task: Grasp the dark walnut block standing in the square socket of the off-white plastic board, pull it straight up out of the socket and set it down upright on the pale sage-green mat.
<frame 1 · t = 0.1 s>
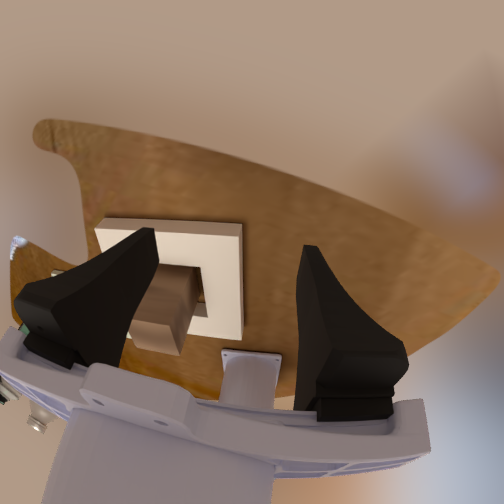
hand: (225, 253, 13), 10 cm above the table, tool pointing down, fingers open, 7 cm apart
socket board: (176, 277, 29), on the table
spray can: (54, 304, 37), on the table
plastic bottle: (74, 344, 44), on the table
walnut block: (177, 277, 29), resting in socket board
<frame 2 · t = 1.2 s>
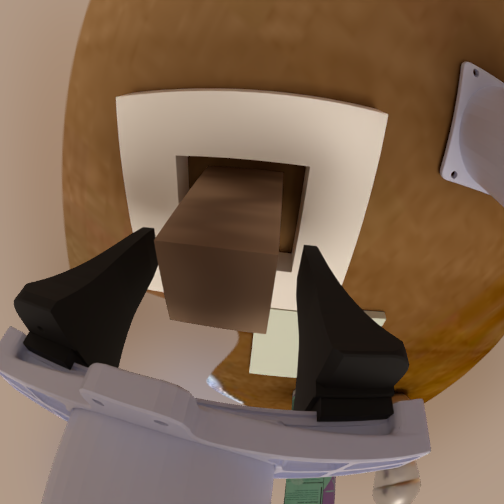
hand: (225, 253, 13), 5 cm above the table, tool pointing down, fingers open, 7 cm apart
socket board: (243, 202, 17), on the table
spray can: (313, 391, 32), on the table
plastic bottle: (388, 397, 33), on the table
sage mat: (310, 344, 25), on the table
walnut block: (243, 201, 17), resting in socket board
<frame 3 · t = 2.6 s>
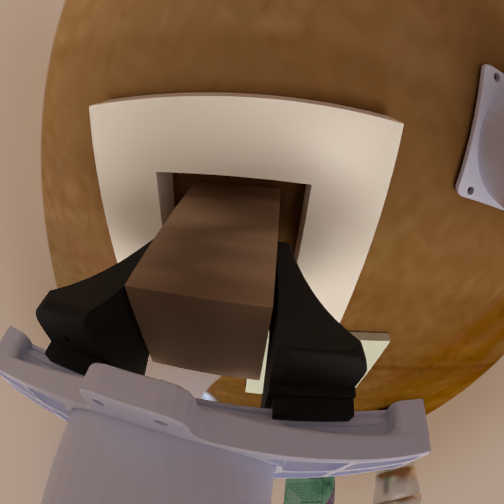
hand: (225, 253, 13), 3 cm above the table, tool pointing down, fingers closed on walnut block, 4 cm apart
socket board: (235, 221, 15), on the table
spray can: (312, 407, 30), on the table
plastic bottle: (390, 410, 31), on the table
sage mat: (309, 365, 24), on the table
walnut block: (235, 221, 15), resting in socket board, touching gripper
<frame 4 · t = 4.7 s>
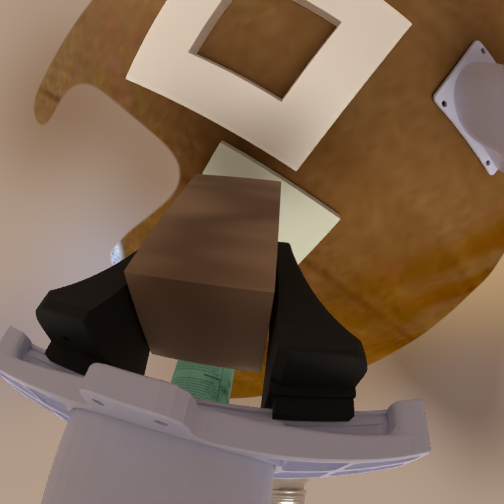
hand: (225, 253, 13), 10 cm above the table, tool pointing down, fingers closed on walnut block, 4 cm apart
socket board: (265, 35, 14), on the table
spray can: (220, 308, 31), on the table
plastic bottle: (295, 353, 35), on the table
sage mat: (247, 227, 24), on the table
walnut block: (236, 214, 15), point 7 cm above the table, touching gripper
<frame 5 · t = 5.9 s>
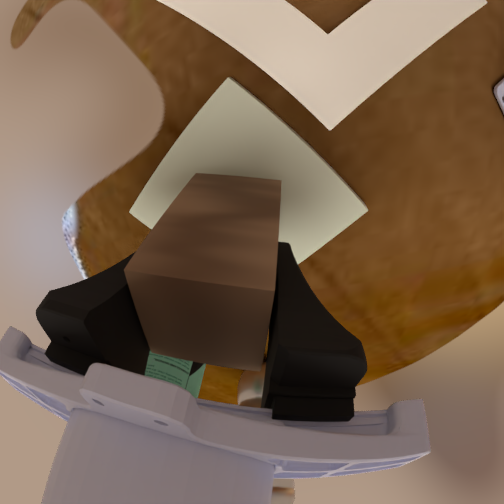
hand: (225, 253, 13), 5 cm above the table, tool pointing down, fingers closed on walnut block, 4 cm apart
spray can: (189, 304, 24), on the table
plastic bottle: (271, 367, 29), on the table
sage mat: (242, 202, 17), on the table
walnut block: (236, 213, 15), point 2 cm above the table, touching gripper
when the fingers open (5 cm above the table, at t = 6.9 s): walnut block stays where it is, resting on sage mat.
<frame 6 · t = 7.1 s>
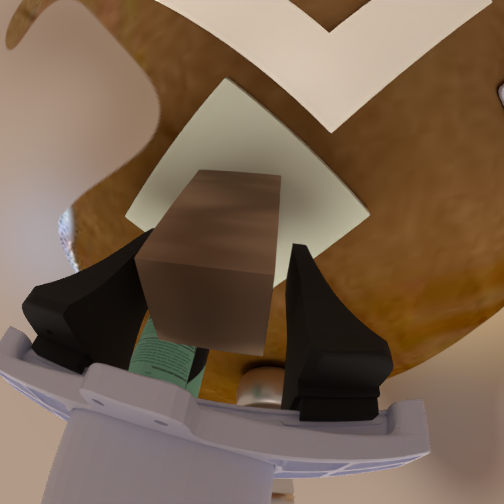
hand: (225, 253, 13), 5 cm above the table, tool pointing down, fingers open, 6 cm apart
spray can: (187, 309, 24), on the table
plastic bottle: (270, 372, 29), on the table
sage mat: (240, 206, 17), on the table
walnut block: (238, 208, 16), point 1 cm above the table, touching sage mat
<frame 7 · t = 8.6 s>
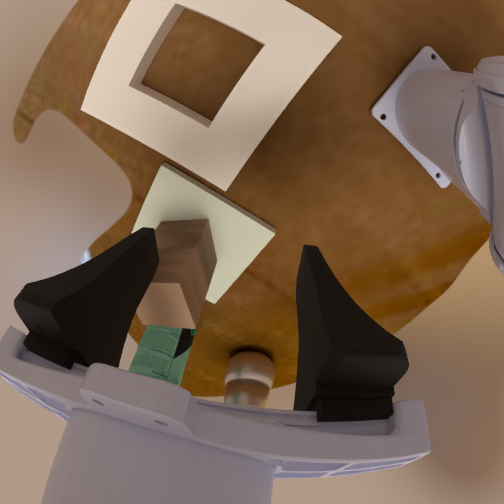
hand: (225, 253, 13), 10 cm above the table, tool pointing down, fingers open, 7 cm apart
socket board: (199, 63, 16), on the table
spray can: (178, 311, 33), on the table
plastic bottle: (251, 356, 37), on the table
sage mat: (192, 239, 26), on the table
walnut block: (189, 241, 25), point 1 cm above the table, touching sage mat
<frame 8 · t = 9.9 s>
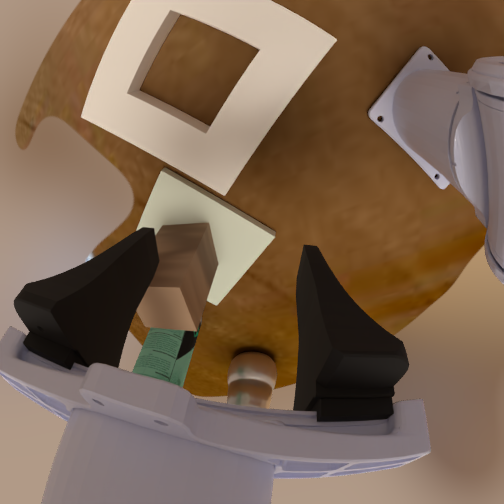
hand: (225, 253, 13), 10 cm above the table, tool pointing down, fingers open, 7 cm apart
socket board: (196, 68, 17), on the table
spray can: (181, 313, 33), on the table
plastic bottle: (254, 357, 37), on the table
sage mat: (193, 242, 26), on the table
walnut block: (190, 244, 25), point 1 cm above the table, touching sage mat
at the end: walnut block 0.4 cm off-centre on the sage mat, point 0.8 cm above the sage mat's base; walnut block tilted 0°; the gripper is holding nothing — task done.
